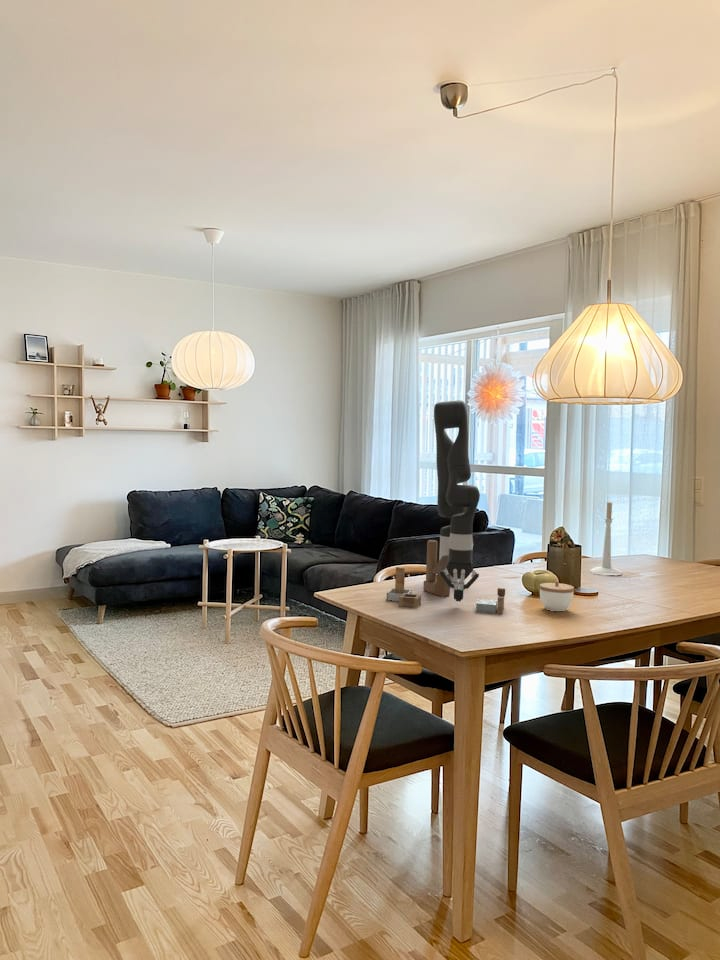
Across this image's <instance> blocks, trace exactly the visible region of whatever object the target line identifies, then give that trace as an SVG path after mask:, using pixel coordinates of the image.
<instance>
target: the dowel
mask: <svg viewBox="0 0 720 960" xmlns="http://www.w3.org/2000/svg"><path fill="white" fill-rule="evenodd" d="M405 571H406V567H404V566H396V567H395V583H394V589H395V593H397V594H403V593H404V589H405V579H406V578H405V574H406V572H405Z"/></svg>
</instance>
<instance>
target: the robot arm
mask: <svg viewBox="0 0 720 960" xmlns="http://www.w3.org/2000/svg"><path fill="white" fill-rule="evenodd" d="M433 420H434V430H435V432H434V433H435V440H436V459H435V460H436V473H437V474H436V475H437V506H436V507H437V512H438V515H439V516H440V517H441V518H450V524H449V525H445V526H443V527H441V528H440V532H439V533H440V535H439V556H438V557H439V558H438V559H439V560H440V559H441V558H442V556H446V555H449V557H448V565H447V567H446V569H444V570H442V571H441V572H440V575H441V576H442V577H443V579H444V580H445V582H446V583H447V584H448V586H449V587H450V589H453V599H454V600H455V602H461V601H463V599H464V591H465V590H467V589H469V588H470V587H471V586H472V585H473V584H474V583H475V582H476V580H477V579H478V578H479V576H480V573H479V572H477V571H476V570H475V569H474V565H473V550H474V549H473V547H474V539H473V530H474V529H473V527H474V526H473V525H474V524H473V523H474V518H475V514H476V510H477V508H478V505H479V501H480V499H481V498H480V497H481V494H480V490H479V488H478V487H477V486H476V485H473V484H471V485H470V484H469V485H468V484H462V483H466V482H467V481H469V480H470V479H471V476H472V472H471V466H470V464H471V463H470V458H469V426H468V425H469V422H468V421H469V420H468V410H467V405H466V403H465V401H464V400H462V399H461V400H458V399H457V400H448V401H447V400H446V401H439V402H437V403H435V405H434V407H433ZM446 429H448V430H449V429H458V433H457V436H456V438H455V440H454V441H453V440H452V439H451V438H450V437H449V434H448V433H447V431H446ZM439 560H438V561H439ZM448 572H449V573H450V578H449V577H448ZM470 575H471V576H470ZM469 576H470V577H471V578H470V579H469V581H468V582H467V583H466V579H467V578H468V577H469Z"/></svg>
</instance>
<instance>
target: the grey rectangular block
mask: <svg viewBox="0 0 720 960" xmlns="http://www.w3.org/2000/svg"><path fill="white" fill-rule="evenodd" d="M497 603H498V599H483V598H478V599H477V601H476V603H475V606H476V608H475V612H476V613H482V612H484V614H494V613H496V614H497Z"/></svg>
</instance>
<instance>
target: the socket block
mask: <svg viewBox="0 0 720 960" xmlns="http://www.w3.org/2000/svg"><path fill="white" fill-rule="evenodd" d="M421 603H422V594H419V593H412V594H407V593H403V594H402V595H401V596H400V597H399V602H398V607H403V606H407V607H406V608H414V607H418V606H419V607H420V605H421ZM419 607H418V608H419Z"/></svg>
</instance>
